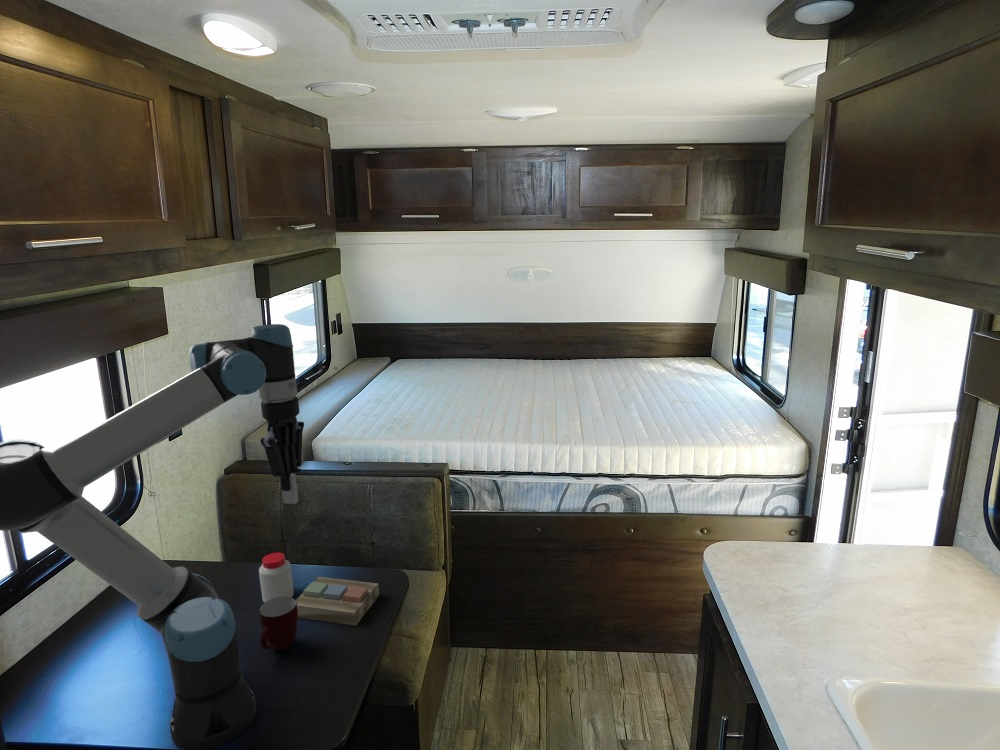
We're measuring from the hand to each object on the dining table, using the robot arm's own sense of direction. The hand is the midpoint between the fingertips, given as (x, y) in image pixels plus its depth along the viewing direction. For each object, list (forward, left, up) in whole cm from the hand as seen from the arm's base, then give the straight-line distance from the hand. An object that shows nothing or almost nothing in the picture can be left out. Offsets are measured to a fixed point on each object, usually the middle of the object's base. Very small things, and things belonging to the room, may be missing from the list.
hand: (291, 502), depth 138 cm
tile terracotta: (+14, -6, -33) cm, 36 cm away
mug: (-4, +4, -35) cm, 35 cm away
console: (+14, 0, -34) cm, 37 cm away
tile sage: (+14, +6, -33) cm, 36 cm away
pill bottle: (+15, +18, -35) cm, 42 cm away
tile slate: (+14, 0, -33) cm, 36 cm away
